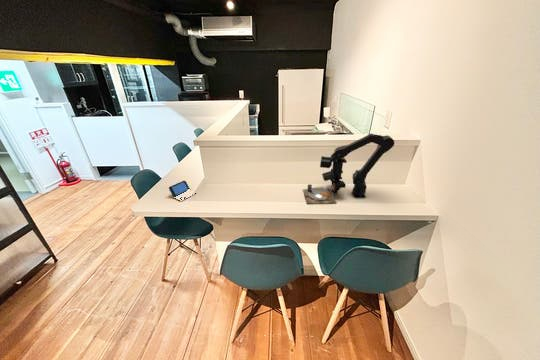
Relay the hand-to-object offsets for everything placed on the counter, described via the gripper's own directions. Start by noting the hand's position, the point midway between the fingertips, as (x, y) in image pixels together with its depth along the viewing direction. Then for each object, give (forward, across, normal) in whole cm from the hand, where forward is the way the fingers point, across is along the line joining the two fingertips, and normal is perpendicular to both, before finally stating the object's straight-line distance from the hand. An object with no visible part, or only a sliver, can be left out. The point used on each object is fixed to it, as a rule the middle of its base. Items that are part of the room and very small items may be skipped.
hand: (334, 191), depth 135 cm
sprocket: (0, +5, -11) cm, 12 cm away
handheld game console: (+2, 0, -96) cm, 96 cm away
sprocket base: (+1, +5, -11) cm, 12 cm away
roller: (+1, 0, 0) cm, 1 cm away
